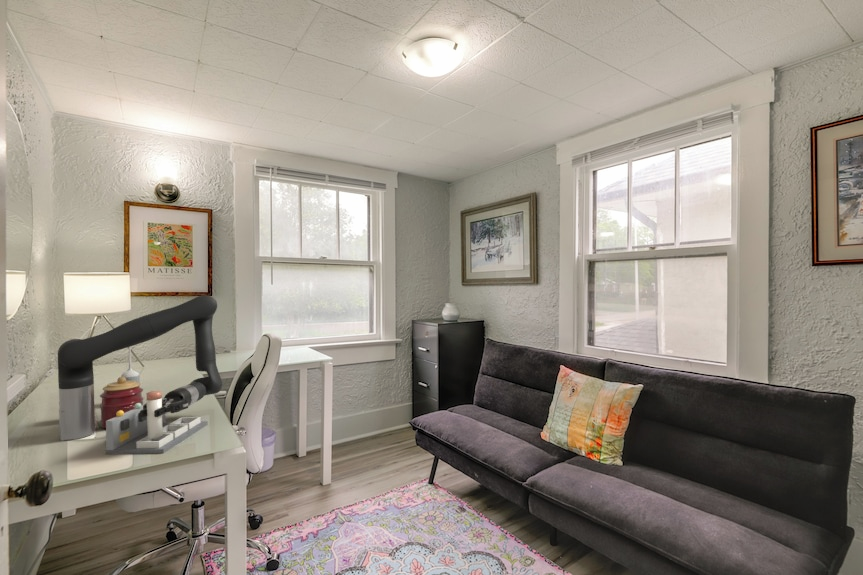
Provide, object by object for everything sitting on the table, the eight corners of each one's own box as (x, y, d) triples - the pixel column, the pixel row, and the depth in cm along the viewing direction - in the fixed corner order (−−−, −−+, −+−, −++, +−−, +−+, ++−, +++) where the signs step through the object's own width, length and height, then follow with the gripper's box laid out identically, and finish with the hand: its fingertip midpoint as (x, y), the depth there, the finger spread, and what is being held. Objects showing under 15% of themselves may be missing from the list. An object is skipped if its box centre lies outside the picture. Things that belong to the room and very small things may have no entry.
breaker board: (163, 453, 127) (162, 414, 127) (105, 453, 127) (104, 415, 127) (207, 424, 152) (206, 392, 152) (158, 425, 152) (158, 392, 152)
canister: (120, 431, 146) (119, 381, 146) (91, 428, 149) (89, 380, 149) (152, 418, 159) (151, 373, 159) (124, 417, 162) (123, 372, 162)
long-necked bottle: (131, 406, 175) (129, 348, 174) (114, 406, 176) (112, 348, 176) (147, 401, 183) (145, 345, 183) (130, 400, 184) (129, 345, 184)
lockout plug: (149, 439, 128) (148, 394, 128) (146, 436, 131) (145, 392, 131) (164, 435, 131) (163, 392, 131) (161, 432, 134) (159, 390, 134)
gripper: (161, 387, 145) (125, 402, 128) (201, 387, 145) (170, 401, 128) (162, 408, 146) (126, 426, 128) (202, 408, 146) (171, 425, 128)
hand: (148, 414), depth 128 cm, fingers closed on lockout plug, 3 cm apart
